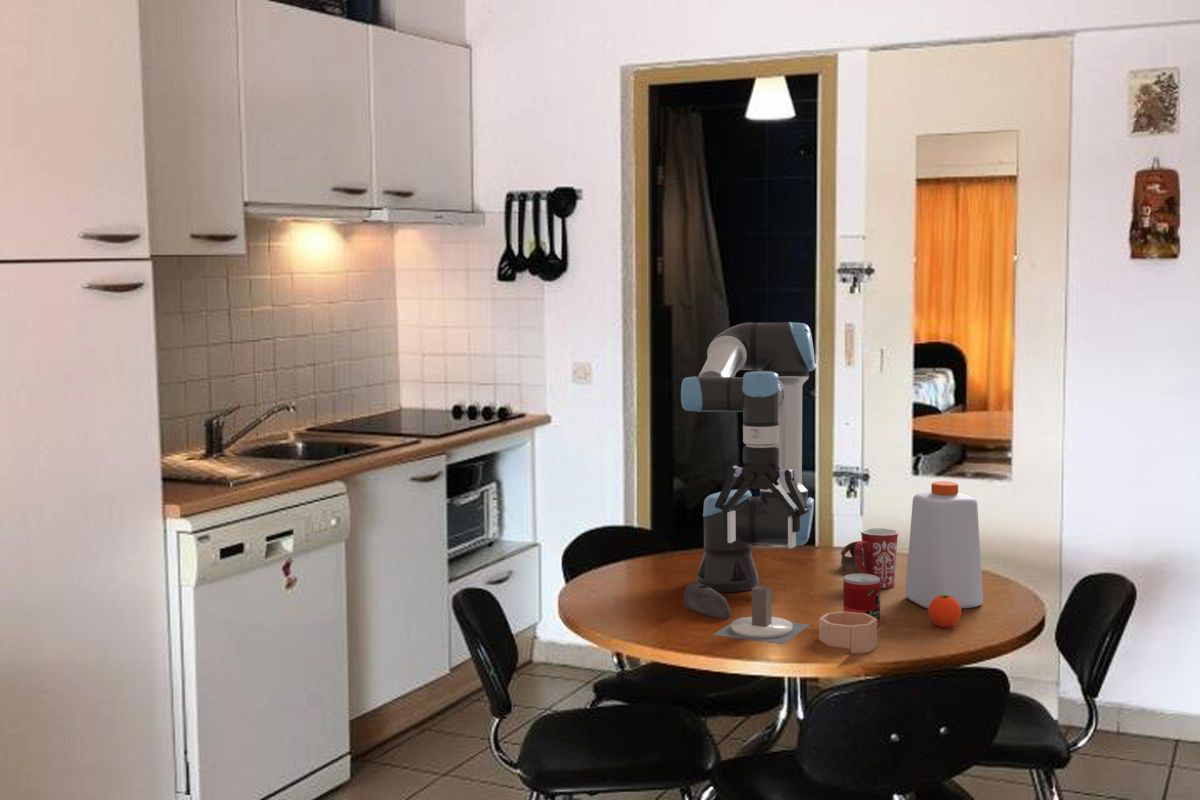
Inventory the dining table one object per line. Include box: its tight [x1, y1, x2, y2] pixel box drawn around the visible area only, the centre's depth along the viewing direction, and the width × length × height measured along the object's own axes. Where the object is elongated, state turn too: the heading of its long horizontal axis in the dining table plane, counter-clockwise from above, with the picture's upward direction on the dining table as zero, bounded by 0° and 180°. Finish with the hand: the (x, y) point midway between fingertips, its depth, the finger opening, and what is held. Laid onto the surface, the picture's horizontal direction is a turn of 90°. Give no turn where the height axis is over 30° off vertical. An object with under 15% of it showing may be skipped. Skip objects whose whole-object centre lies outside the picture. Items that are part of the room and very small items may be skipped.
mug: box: [854, 527, 899, 590], centre depth 334 cm, size 13×9×14 cm
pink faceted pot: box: [818, 611, 878, 656], centre depth 284 cm, size 11×11×6 cm
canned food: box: [842, 573, 881, 630], centre depth 299 cm, size 8×8×11 cm
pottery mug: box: [840, 540, 863, 571], centre depth 354 cm, size 12×10×8 cm
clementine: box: [928, 594, 962, 628], centre depth 299 cm, size 8×7×7 cm
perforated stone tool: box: [683, 582, 731, 620], centre depth 308 cm, size 15×5×7 cm, turn 28°
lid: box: [730, 584, 793, 638], centre depth 293 cm, size 13×13×9 cm
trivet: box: [712, 616, 810, 645], centre depth 293 cm, size 16×16×2 cm
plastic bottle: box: [905, 480, 984, 610], centre depth 317 cm, size 15×15×28 cm
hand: (761, 544), depth 291 cm, fingers open, 13 cm apart
